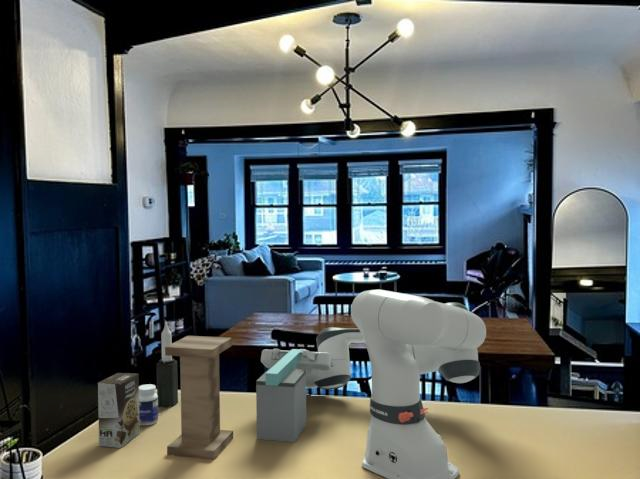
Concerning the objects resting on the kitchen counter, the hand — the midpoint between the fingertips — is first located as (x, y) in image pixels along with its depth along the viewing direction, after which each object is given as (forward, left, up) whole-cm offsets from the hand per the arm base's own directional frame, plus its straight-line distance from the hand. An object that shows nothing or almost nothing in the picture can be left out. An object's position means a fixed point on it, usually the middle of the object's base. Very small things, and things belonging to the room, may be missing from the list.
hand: (290, 352), depth 151 cm
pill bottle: (+20, +34, -19) cm, 44 cm away
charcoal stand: (-6, +6, -19) cm, 21 cm away
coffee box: (+12, +43, -19) cm, 49 cm away
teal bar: (-3, +4, -4) cm, 6 cm away
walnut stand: (-3, +27, -19) cm, 33 cm away
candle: (+31, +25, -19) cm, 44 cm away
